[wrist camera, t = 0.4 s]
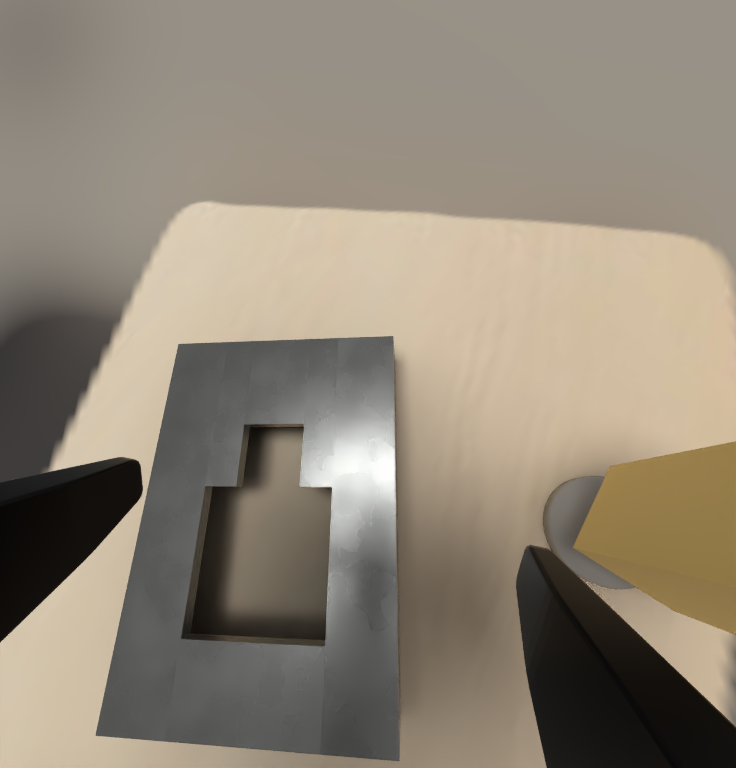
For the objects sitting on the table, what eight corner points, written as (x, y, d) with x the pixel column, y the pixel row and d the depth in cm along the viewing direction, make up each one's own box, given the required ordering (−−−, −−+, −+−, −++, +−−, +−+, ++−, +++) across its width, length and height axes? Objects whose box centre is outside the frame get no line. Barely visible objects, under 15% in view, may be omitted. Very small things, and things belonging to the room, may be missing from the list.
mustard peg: (626, 607, 18) (1062, 806, 6) (526, 542, 20) (719, 600, 8) (664, 513, 20) (1087, 525, 7) (567, 459, 21) (789, 395, 9)
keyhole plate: (400, 715, 18) (399, 761, 15) (146, 697, 19) (95, 735, 16) (394, 358, 24) (393, 336, 21) (206, 364, 26) (178, 344, 23)
